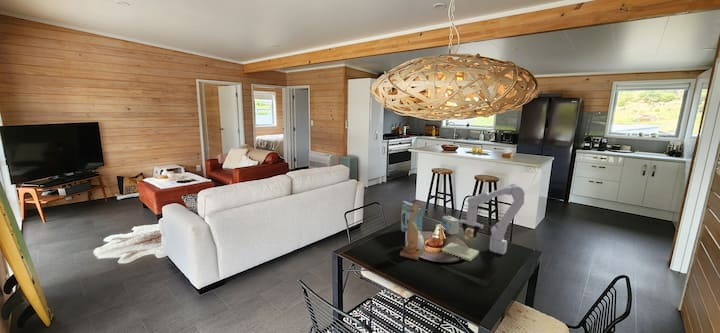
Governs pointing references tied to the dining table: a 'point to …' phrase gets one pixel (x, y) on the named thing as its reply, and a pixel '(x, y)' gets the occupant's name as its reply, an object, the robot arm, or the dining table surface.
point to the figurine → (419, 243)
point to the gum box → (407, 214)
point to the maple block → (469, 234)
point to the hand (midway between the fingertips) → (470, 236)
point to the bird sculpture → (412, 236)
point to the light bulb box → (450, 224)
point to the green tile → (460, 251)
